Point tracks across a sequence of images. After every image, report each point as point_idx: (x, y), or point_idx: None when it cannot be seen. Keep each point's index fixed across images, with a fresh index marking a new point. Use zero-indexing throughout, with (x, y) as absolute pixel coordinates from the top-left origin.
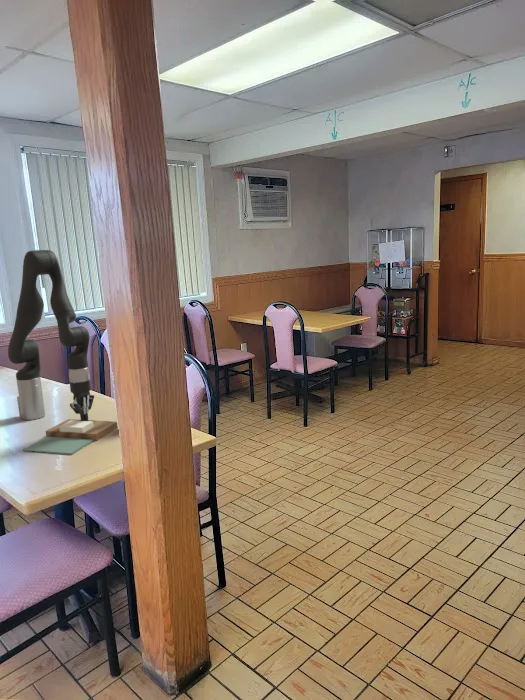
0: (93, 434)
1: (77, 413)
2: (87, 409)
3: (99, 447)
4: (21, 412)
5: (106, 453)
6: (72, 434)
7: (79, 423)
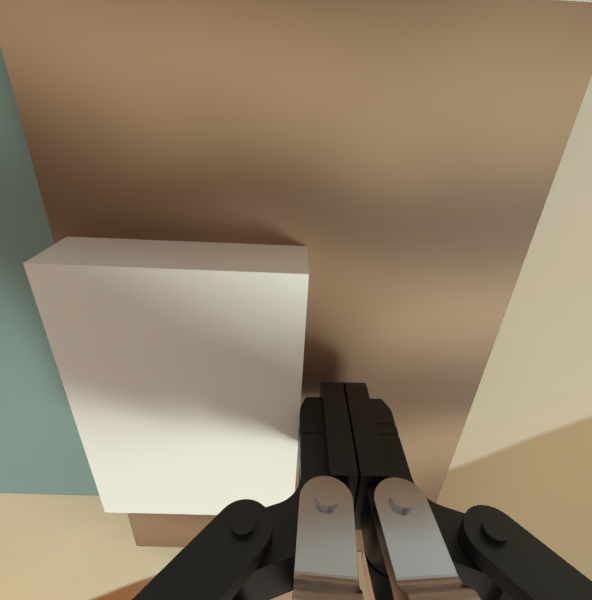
0: (133, 528)
1: (227, 525)
2: (391, 591)
3: (70, 543)
4: None
5: (23, 589)
6: None
7: (209, 437)
